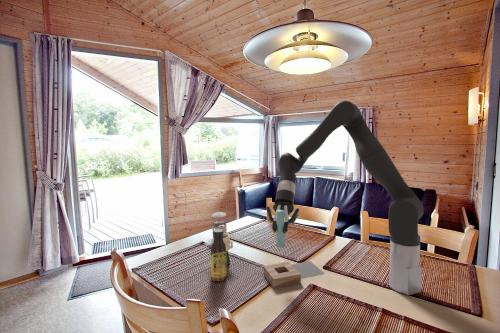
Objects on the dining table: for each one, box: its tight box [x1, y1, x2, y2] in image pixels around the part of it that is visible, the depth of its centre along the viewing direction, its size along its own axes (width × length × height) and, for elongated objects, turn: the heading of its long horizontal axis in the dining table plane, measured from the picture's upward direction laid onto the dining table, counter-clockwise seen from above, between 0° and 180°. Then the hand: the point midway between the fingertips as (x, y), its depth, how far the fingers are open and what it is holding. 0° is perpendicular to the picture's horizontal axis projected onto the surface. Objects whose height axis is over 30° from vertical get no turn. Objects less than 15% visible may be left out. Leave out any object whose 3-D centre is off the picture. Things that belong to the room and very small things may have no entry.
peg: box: [275, 210, 286, 249], centre depth 105 cm, size 3×3×14 cm
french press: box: [208, 194, 228, 241], centre depth 151 cm, size 10×12×25 cm
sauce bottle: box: [210, 229, 227, 282], centre depth 108 cm, size 7×6×20 cm
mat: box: [291, 260, 326, 280], centre depth 114 cm, size 12×12×1 cm
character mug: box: [211, 233, 234, 266], centre depth 121 cm, size 11×7×13 cm, turn 63°
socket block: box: [262, 261, 302, 290], centre depth 107 cm, size 11×11×4 cm
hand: (279, 231), depth 103 cm, fingers closed on peg, 3 cm apart
